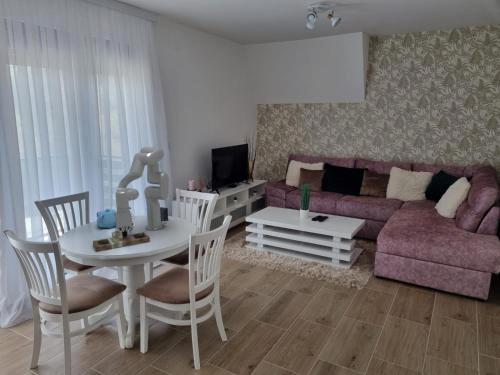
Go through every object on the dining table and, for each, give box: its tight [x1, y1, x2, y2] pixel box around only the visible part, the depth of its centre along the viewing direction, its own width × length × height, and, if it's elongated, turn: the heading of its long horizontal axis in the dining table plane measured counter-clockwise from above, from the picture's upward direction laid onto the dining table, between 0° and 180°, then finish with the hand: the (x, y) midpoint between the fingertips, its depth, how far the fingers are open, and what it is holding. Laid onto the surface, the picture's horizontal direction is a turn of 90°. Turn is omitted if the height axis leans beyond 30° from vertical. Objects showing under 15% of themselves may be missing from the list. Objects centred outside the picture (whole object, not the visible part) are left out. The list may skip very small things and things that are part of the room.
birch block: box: [111, 230, 122, 242], centre depth 230 cm, size 5×6×5 cm
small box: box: [160, 206, 169, 222], centre depth 282 cm, size 11×6×10 cm, turn 71°
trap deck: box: [92, 231, 151, 252], centre depth 232 cm, size 33×13×3 cm, turn 122°
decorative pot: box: [96, 208, 117, 229], centre depth 268 cm, size 16×16×14 cm
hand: (124, 236), depth 233 cm, fingers closed
